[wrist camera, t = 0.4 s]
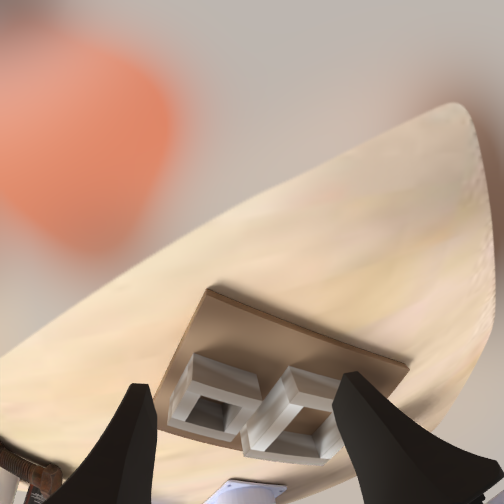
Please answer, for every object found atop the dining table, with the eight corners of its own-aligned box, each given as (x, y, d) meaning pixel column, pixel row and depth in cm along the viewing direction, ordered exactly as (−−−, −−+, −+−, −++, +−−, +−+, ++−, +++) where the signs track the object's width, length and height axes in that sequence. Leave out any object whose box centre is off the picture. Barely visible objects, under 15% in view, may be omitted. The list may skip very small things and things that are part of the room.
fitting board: (324, 455, 28) (334, 481, 24) (144, 416, 23) (138, 450, 19) (404, 363, 25) (426, 388, 21) (206, 288, 20) (206, 317, 16)
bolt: (-21, 418, 23) (63, 462, 26) (-20, 444, 22) (63, 489, 25) (-42, 427, 18) (49, 480, 20) (-38, 456, 17) (51, 508, 19)
